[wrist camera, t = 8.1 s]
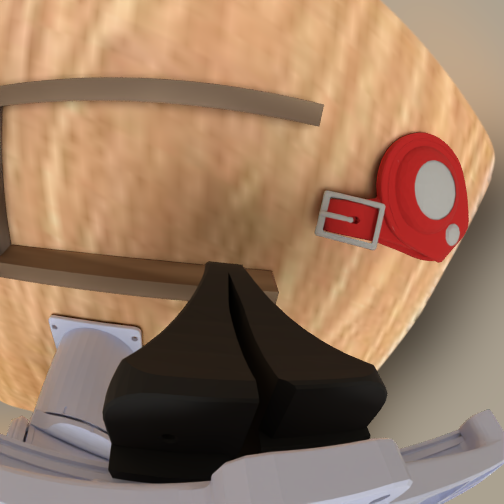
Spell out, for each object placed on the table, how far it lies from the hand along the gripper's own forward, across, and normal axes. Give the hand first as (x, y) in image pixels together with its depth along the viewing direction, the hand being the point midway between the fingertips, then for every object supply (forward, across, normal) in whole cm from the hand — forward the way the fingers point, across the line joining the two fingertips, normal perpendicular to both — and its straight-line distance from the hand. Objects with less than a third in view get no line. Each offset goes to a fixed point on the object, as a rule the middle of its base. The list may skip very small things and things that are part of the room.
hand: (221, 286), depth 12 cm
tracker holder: (+9, -12, -3) cm, 15 cm away
